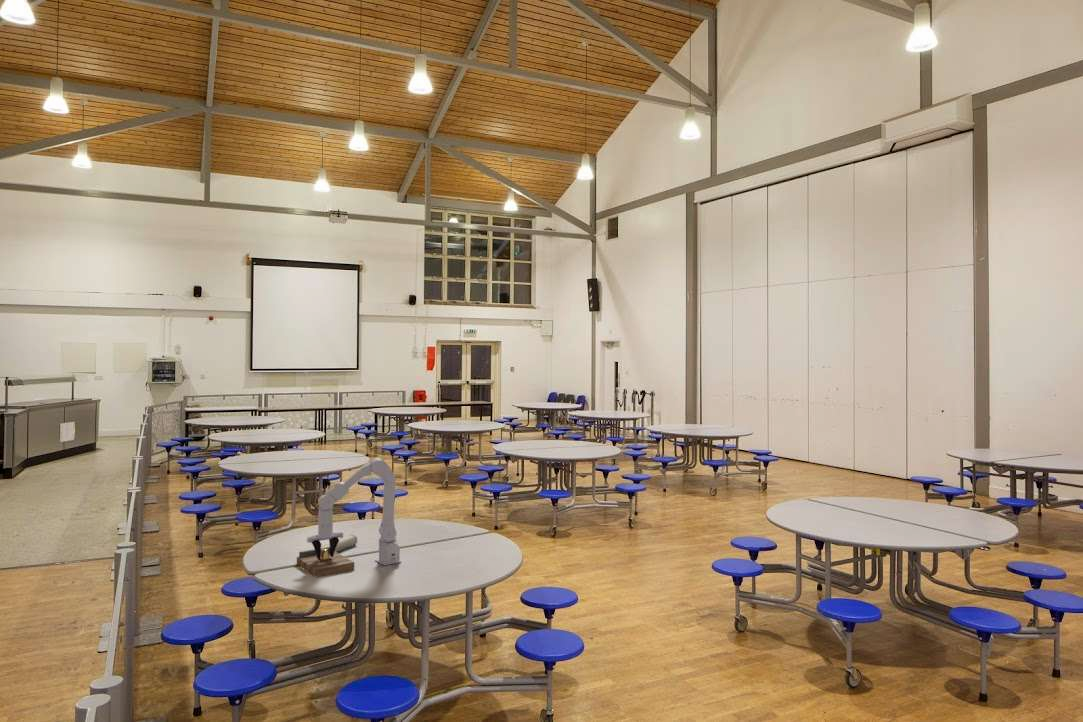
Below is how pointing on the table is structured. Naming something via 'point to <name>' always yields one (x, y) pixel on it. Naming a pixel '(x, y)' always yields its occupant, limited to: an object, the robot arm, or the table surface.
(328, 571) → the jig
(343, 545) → the tube
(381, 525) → the robot arm
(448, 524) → the table surface
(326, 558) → the brass cylinder
